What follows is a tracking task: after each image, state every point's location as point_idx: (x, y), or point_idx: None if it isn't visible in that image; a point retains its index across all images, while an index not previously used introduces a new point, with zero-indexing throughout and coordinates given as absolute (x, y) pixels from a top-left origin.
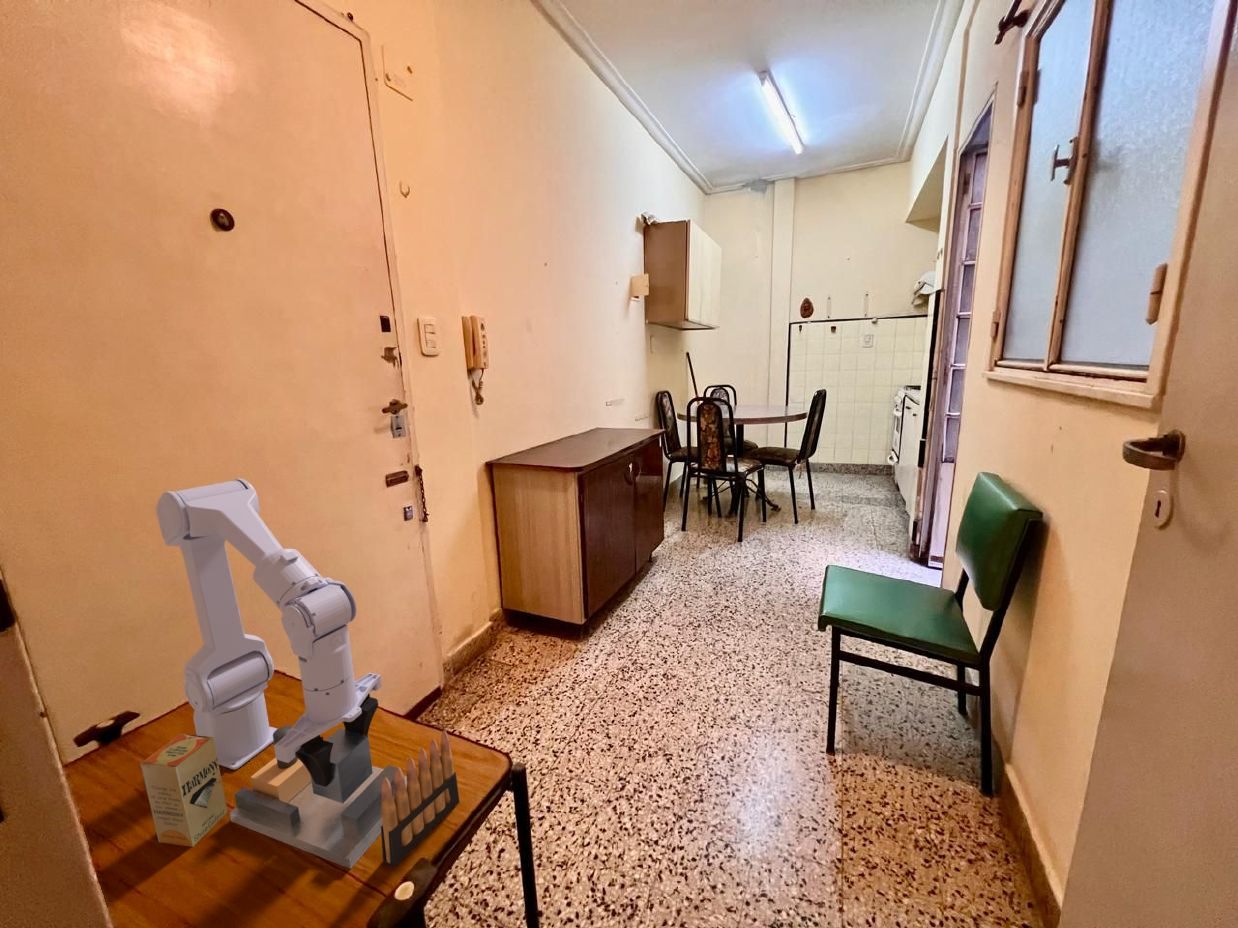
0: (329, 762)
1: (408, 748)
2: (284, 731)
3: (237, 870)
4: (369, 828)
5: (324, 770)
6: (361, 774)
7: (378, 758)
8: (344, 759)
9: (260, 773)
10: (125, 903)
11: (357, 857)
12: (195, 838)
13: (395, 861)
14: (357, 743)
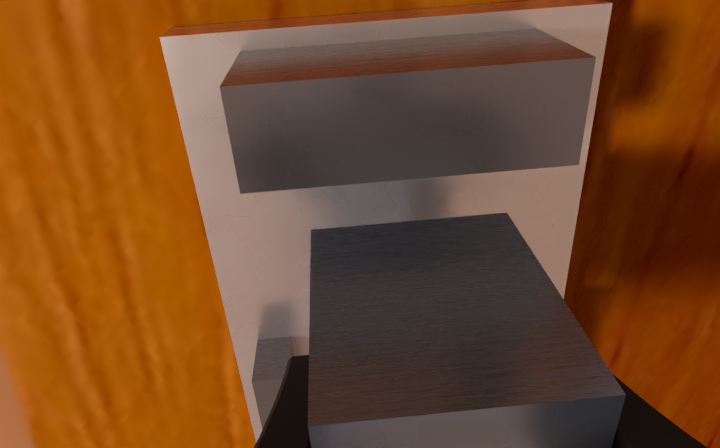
0: (639, 445)
1: (51, 243)
2: None
3: (640, 325)
4: (481, 34)
5: (660, 417)
6: (387, 254)
7: (163, 305)
8: (552, 389)
9: None
10: None
11: (556, 1)
12: None
13: None
14: (405, 430)
